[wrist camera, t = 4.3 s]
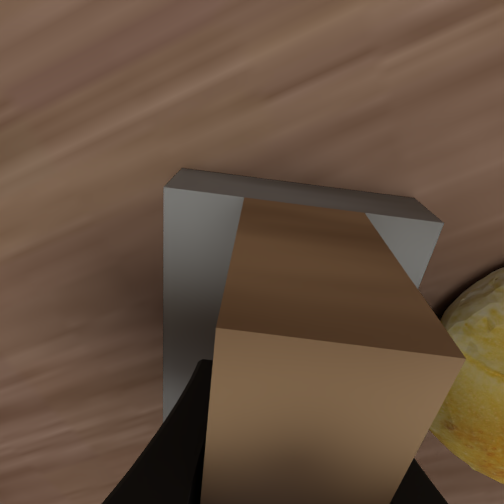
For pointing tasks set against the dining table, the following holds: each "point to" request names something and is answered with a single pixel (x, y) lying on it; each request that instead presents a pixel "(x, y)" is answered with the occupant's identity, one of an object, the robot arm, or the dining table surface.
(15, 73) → the dining table surface
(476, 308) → the bread roll
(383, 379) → the scraper
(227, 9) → the dining table surface
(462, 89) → the dining table surface
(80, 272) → the dining table surface
